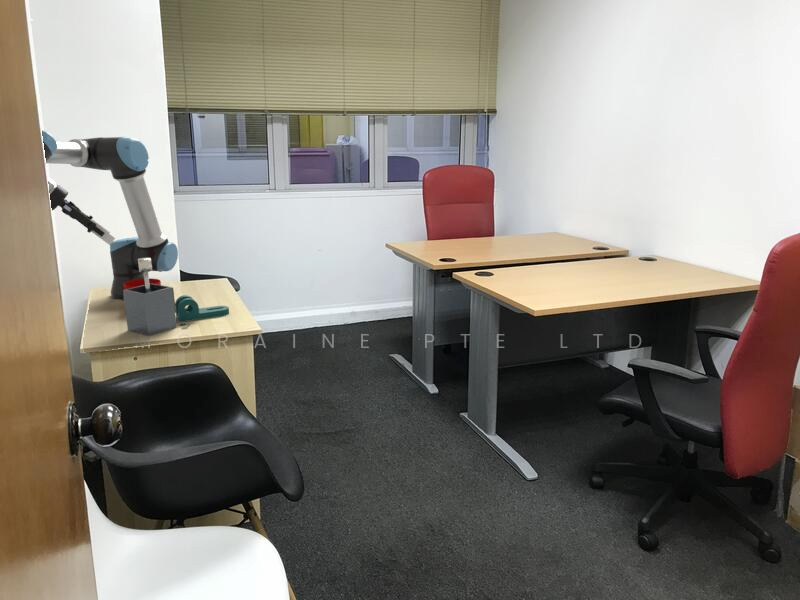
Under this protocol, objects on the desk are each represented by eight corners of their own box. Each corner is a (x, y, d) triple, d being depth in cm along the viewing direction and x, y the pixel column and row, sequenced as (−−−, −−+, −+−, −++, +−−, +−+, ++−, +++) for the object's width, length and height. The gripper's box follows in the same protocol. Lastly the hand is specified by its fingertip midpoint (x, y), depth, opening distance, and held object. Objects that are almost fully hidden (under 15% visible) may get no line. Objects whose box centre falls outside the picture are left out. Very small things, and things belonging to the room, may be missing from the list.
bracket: (180, 322, 220) (177, 300, 218) (176, 317, 226) (174, 296, 224) (231, 314, 229) (229, 294, 227) (226, 310, 235) (224, 290, 233)
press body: (164, 319, 223) (160, 281, 219) (185, 324, 217) (181, 285, 214) (127, 330, 211) (122, 289, 207) (148, 335, 205) (143, 294, 202)
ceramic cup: (160, 314, 230) (157, 287, 227) (119, 311, 233) (115, 285, 231) (179, 304, 242) (176, 279, 239) (139, 302, 245) (136, 277, 243)
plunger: (152, 304, 217) (147, 255, 212) (169, 308, 212) (163, 257, 208) (130, 310, 210) (124, 259, 205) (147, 314, 205) (141, 262, 201)
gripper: (38, 199, 198) (97, 241, 209) (41, 206, 177) (106, 253, 189) (55, 181, 199) (112, 224, 211) (59, 186, 179) (123, 234, 190)
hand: (109, 238), depth 200 cm, fingers open, 13 cm apart
